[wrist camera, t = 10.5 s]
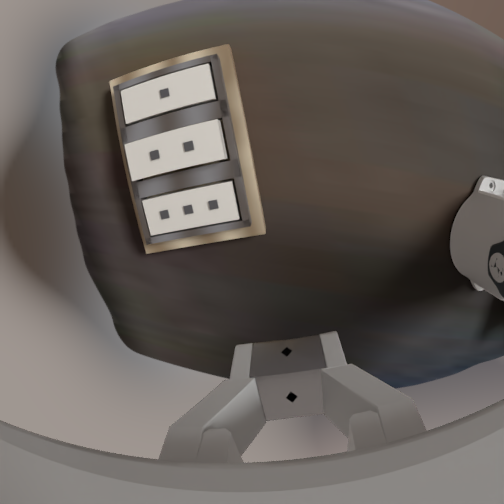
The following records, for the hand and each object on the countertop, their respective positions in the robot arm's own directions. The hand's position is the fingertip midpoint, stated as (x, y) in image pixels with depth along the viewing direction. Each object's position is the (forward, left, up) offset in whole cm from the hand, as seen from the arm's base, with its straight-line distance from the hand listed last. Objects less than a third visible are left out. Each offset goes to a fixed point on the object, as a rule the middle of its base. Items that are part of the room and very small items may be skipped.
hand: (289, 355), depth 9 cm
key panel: (+10, -8, -31) cm, 34 cm away
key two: (+10, -8, -27) cm, 30 cm away
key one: (+10, -15, -28) cm, 34 cm away
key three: (+10, -1, -28) cm, 30 cm away
